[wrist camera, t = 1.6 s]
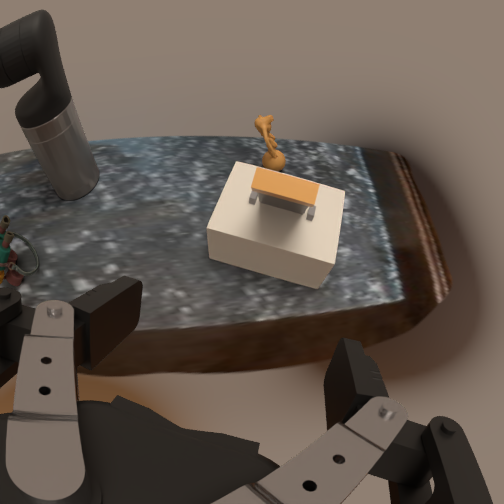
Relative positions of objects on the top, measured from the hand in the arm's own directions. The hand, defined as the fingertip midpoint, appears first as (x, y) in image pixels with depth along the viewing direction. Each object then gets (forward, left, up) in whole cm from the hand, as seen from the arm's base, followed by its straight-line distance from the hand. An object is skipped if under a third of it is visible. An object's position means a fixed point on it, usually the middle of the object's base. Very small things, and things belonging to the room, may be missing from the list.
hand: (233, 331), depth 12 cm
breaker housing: (-14, +18, -28) cm, 36 cm away
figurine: (-26, +26, -29) cm, 46 cm away
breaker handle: (-14, +18, -20) cm, 30 cm away
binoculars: (-33, -20, -29) cm, 48 cm away
